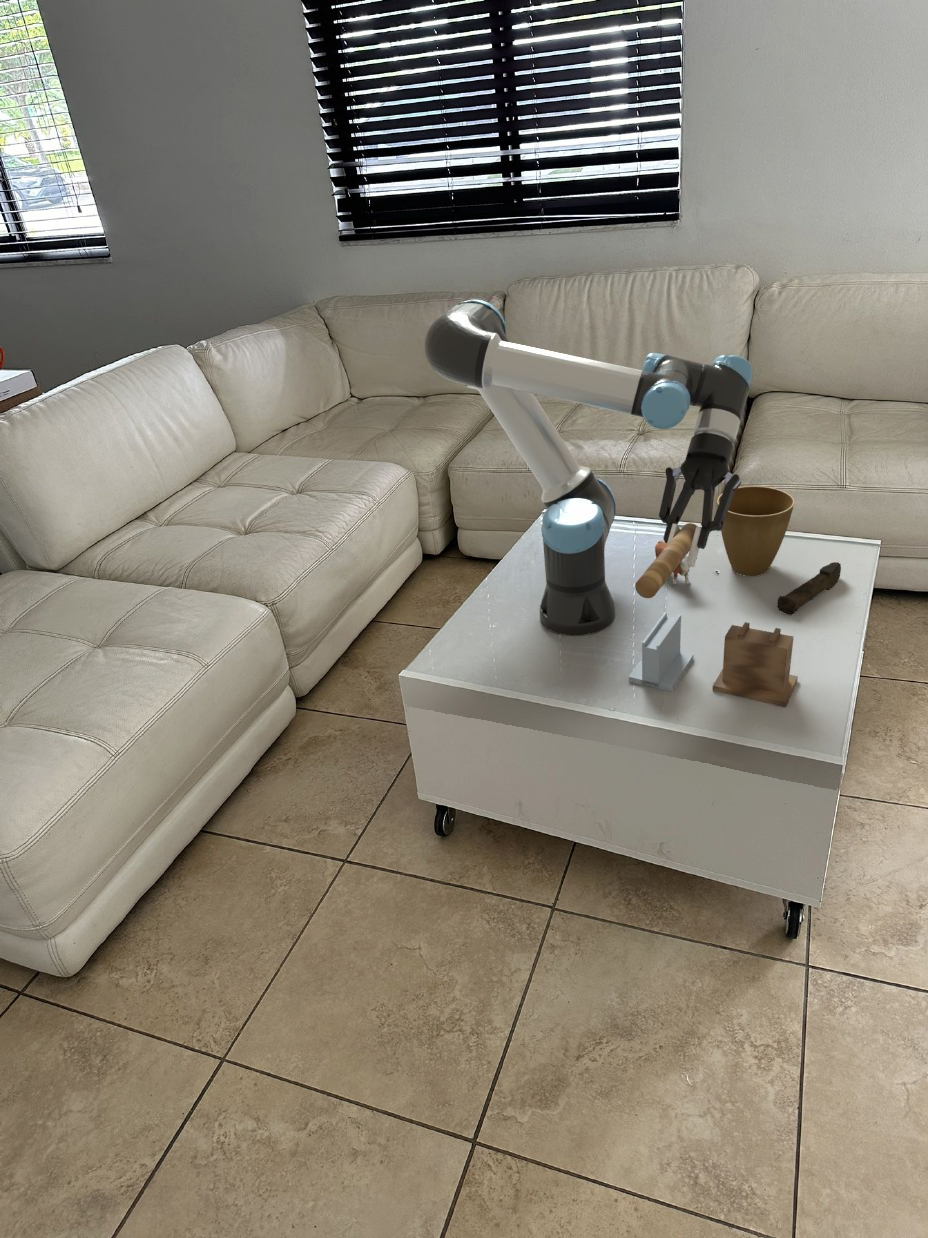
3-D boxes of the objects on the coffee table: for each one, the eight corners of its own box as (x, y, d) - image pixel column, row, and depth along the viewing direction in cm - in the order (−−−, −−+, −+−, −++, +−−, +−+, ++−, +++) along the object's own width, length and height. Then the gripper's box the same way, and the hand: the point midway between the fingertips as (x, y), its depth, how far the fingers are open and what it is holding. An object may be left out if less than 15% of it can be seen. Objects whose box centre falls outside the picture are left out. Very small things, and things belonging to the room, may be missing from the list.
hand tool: (792, 619, 155) (795, 598, 153) (775, 611, 158) (777, 590, 156) (851, 584, 164) (854, 563, 161) (833, 577, 167) (836, 557, 164)
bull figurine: (681, 596, 167) (682, 561, 163) (650, 569, 178) (650, 536, 174) (700, 591, 167) (702, 556, 163) (668, 565, 179) (669, 531, 175)
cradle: (628, 681, 144) (628, 639, 139) (651, 649, 151) (651, 609, 147) (672, 691, 140) (673, 649, 135) (693, 658, 147) (694, 617, 143)
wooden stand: (712, 690, 139) (715, 636, 133) (726, 665, 144) (729, 613, 139) (785, 707, 133) (791, 651, 127) (797, 681, 138) (803, 626, 133)
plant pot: (699, 565, 177) (702, 497, 169) (754, 547, 181) (759, 480, 173) (745, 593, 165) (750, 521, 157) (803, 572, 169) (811, 502, 161)
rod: (656, 600, 130) (656, 580, 128) (635, 596, 132) (635, 576, 130) (700, 542, 145) (701, 524, 143) (681, 540, 147) (681, 521, 145)
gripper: (763, 453, 144) (729, 577, 141) (672, 445, 153) (639, 561, 150) (757, 434, 138) (722, 563, 135) (663, 427, 146) (628, 548, 143)
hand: (678, 562), depth 142 cm, fingers closed on rod, 3 cm apart
